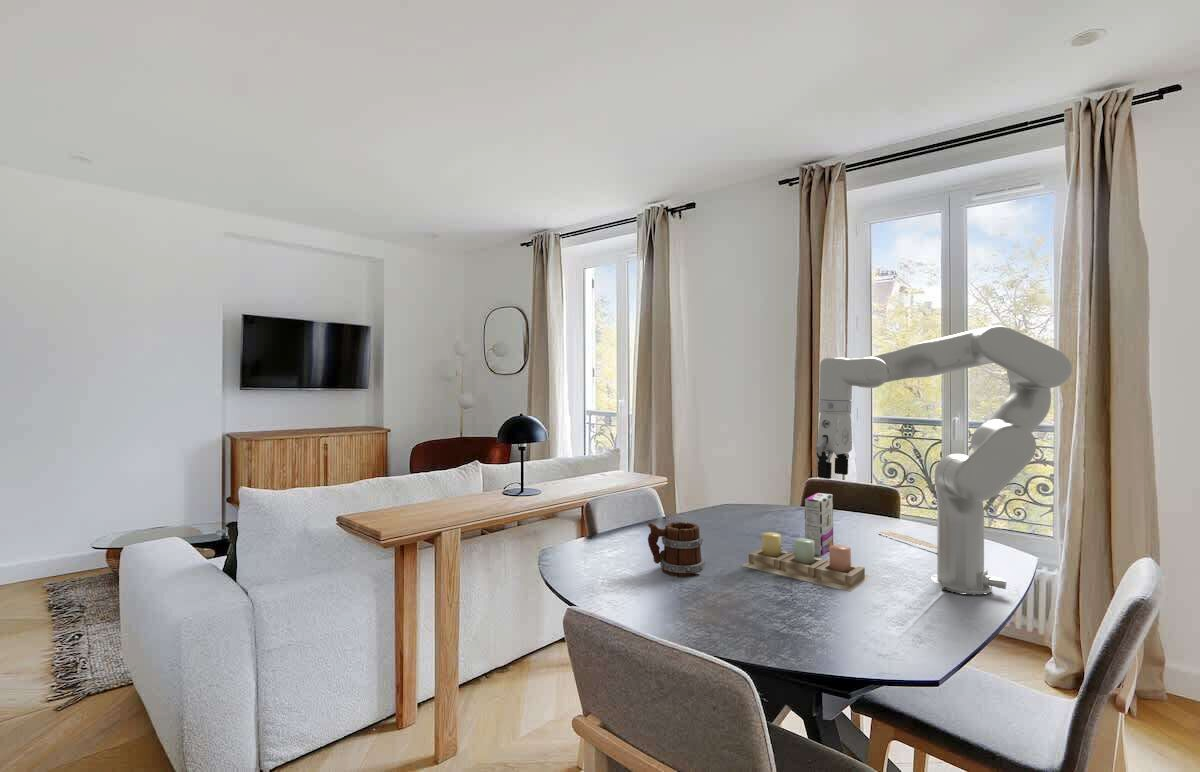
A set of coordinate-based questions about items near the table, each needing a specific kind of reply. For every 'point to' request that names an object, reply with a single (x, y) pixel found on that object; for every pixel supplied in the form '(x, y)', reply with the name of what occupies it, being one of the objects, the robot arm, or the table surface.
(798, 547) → the sage button
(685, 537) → the mug
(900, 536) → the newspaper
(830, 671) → the table surface
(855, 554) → the table surface
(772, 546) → the mustard button
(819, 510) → the candy bar box
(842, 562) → the salmon orange rounded piece
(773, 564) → the wooden compartment tray
